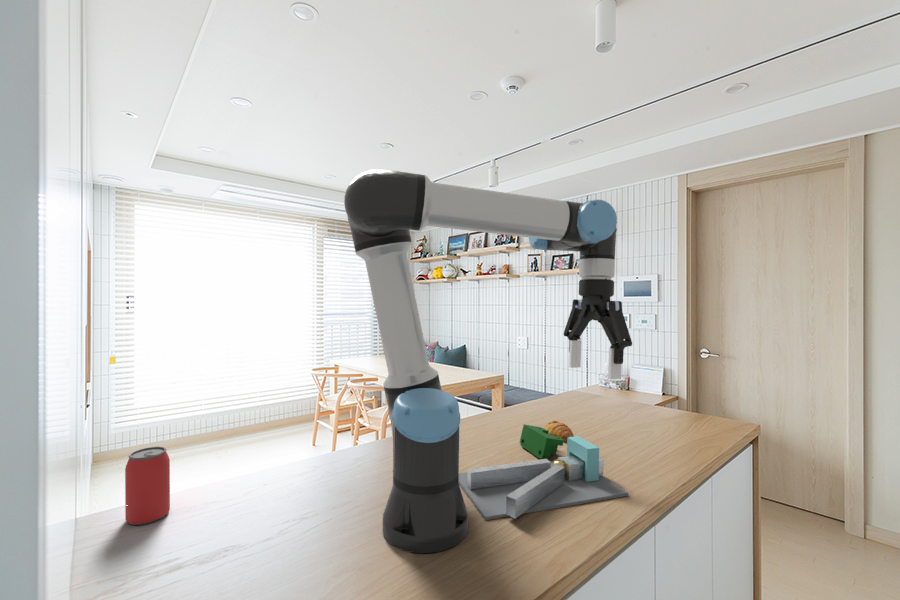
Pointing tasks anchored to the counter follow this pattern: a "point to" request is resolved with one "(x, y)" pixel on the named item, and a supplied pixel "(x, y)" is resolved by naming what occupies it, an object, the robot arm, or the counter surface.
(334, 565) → the counter surface
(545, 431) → the clamp
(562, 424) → the pastry
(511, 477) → the tongs body
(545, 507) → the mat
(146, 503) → the beer can
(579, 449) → the collar
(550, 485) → the arm
